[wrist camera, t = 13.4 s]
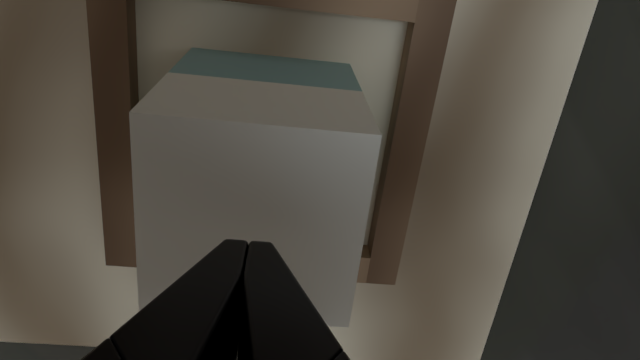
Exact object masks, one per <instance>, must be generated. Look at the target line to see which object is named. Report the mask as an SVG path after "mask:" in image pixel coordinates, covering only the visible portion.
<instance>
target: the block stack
mask: <svg viewBox="0 0 640 360" xmlns="http://www.w3.org/2000/svg"><path fill="white" fill-rule="evenodd" d="M129 122H130V142H131V163H132V183H133V203H134V224H135V244H136V264H137V285H138V305H139V311H140V310H141V309H143V308H144V307H145V306H146V305H147V304H148V303H150V302H151V301H152V300H153V299H154V298H156V297H157V296H158V295H159V294H160V293H162V292H163V291H164V290H165V289H166V288H168V287H169V286H170V285H171V284H172V283H174V282H175V281H176V280H177V279H178V278H179V277H181V276H182V275H183V274H184V273H185V272H187V271H188V270H189V269H190V268H191V267H193V266H194V265H195V264H196V263H197V262H199V261H200V260H201V259H202V258H203V257H204V256H206V255H207V254H208V253H209V252H210V251H212V250H213V249H214V248H215V247H216V246H218V245H219V244H220V243H221V242H222V241H224V240H225V239H237V240H246V241H247V242H248V245H249V243H250V242H251V241H264V242H271V243H273V245H274V246H275V248H276V249H277V251H278V252H279V254H280V255H281V257H282V258H283V260H284V261H285V263H286V264H287V266H288V267H289V269H290V270H291V272H292V273H293V275H294V276H295V278H296V279H297V281H298V282H299V284H300V285H301V287H302V288H303V290H304V291H305V293H306V294H307V296H308V297H309V299H310V300H311V302H312V303H313V305H314V306H315V308H316V309H317V311H318V312H319V314H320V315H321V317H322V318H323V320H324V321H325V323H326V324H327V326H332V327H349V323H350V317H351V312H352V306H353V300H354V294H355V288H356V283H357V277H358V271H359V265H360V260H361V254H362V248H363V242H364V237H365V231H366V225H367V219H368V213H369V208H370V202H371V196H372V190H373V185H374V179H375V173H376V167H377V162H378V156H379V150H380V144H381V138H382V134H381V132H380V130H379V127H378V125H377V123H376V121H375V119H374V116H373V114H372V112H371V110H370V107H369V105H368V103H367V101H366V99H365V96H364V94H363V92H362V90H361V87H360V85H359V83H358V81H357V79H356V76H355V74H354V72H353V70H352V67H351V65H350V64H347V63H338V62H328V61H318V60H309V59H299V58H289V57H280V56H270V55H260V54H251V53H241V52H231V51H222V50H212V49H202V48H191V49H190V50H189V51H188V52H187V53H186V54H185V55H184V56H183V57H182V58H181V59H180V61H179V62H178V63H177V64H176V65H175V66H174V67H173V68H172V69H171V70H170V71H169V72H168V73H167V74H166V75H165V76H164V77H163V78H162V79H161V80H160V81H159V82H158V83H157V84H156V85H155V86H154V87H153V88H152V89H151V90H150V91H149V92H148V93H147V94H146V95H145V96H144V97H143V98H142V99H141V100H140V101H139V103H138V104H137V105H136V106H135V107H134V108H133V109H132V110H131V111H130V112H129Z"/></svg>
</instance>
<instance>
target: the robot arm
mask: <svg viewBox="0 0 640 360" xmlns="http://www.w3.org/2000/svg"><path fill="white" fill-rule="evenodd" d="M237 355H238V360H350V358H349V357H348V355H347V354H346V353H345V352H343V348H342V347H341V345H340V344H339V342H338V341H337V339H336V338H335V336H334V335H333V333H332V332H331V330H330V329H329V327H328V326H327V324H326V323H325V321H324V320H323V318H322V317H321V315H320V314H319V312H318V311H317V309H316V308H315V306H314V305H313V303H312V302H311V300H310V299H309V297H308V296H307V294H306V293H305V291H304V290H303V288H302V287H301V285H300V284H299V282H298V281H297V279H296V278H295V276H294V275H293V273H292V272H291V270H290V269H289V267H288V266H287V264H286V263H285V261H284V260H283V258H282V257H281V255H280V254H279V252H278V251H277V249H276V248H275V246H274V245H273V243H271V242H264V241H251V242H250V243H249V245H248V242H247V241H246V240H237V239H225V240H224V241H222V242H221V243H220V244H219V245H218V246H216V247H215V248H214V249H213V250H212V251H210V252H209V253H208V254H207V255H206V256H204V257H203V258H202V259H201V260H200V261H199V262H197V263H196V264H195V265H194V266H193V267H191V268H190V269H189V270H188V271H187V272H185V273H184V274H183V275H182V276H181V277H179V278H178V279H177V280H176V281H175V282H174V283H172V284H171V285H170V286H169V287H168V288H166V289H165V290H164V291H163V292H162V293H160V294H159V295H158V296H157V297H156V298H154V299H153V300H152V301H151V302H150V303H148V304H147V305H146V306H145V307H144V308H143V309H141V310H140V311H139V312H138V313H137V314H135V315H134V316H133V317H132V318H131V319H129V320H128V321H127V322H126V323H125V324H123V325H122V326H121V327H120V328H119V329H118V330H116V331H115V332H114V333H113V334H112V335H110V337H109V338H107V339H105V340H104V341H103V342H102V343H101V344H99V345H98V346H97V347H96V348H95V349H93V350H92V351H91V352H90V353H89V354H87V355H86V356H85V357H83V358H82V359H81V360H237Z"/></svg>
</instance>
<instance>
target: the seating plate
mask: <svg viewBox="0 0 640 360" xmlns="http://www.w3.org/2000/svg"><path fill="white" fill-rule="evenodd" d="M597 3H598V0H0V342H18V343H37V344H55V345H74V346H92V347H97V346H98V345H99V344H101V343H102V342H103V341H104V340H105V339H107V338H109V337H110V335H112V334H113V333H114V332H115V331H116V330H118V329H119V328H120V327H121V326H122V325H123V324H125V323H126V322H127V321H128V320H129V319H131V318H132V317H133V316H134V315H135V314H137V313H138V312H139V305H138V285H137V264H136V244H135V224H134V203H133V183H132V163H131V142H130V122H129V112H130V111H131V110H132V109H133V108H134V107H135V106H136V105H137V104H138V103H139V101H140V100H141V99H142V98H143V97H144V96H145V95H146V94H147V93H148V92H149V91H150V90H151V89H152V88H153V87H154V86H155V85H156V84H157V83H158V82H159V81H160V80H161V79H162V78H163V77H164V76H165V75H166V74H167V73H168V72H169V71H170V70H171V69H172V68H173V67H174V66H175V65H176V64H177V63H178V62H179V61H180V59H181V58H182V57H183V56H184V55H185V54H186V53H187V52H188V51H189V50H190V49H191V48H202V49H212V50H222V51H231V52H241V53H251V54H260V55H270V56H280V57H289V58H299V59H309V60H318V61H328V62H338V63H347V64H350V65H351V67H352V70H353V72H354V74H355V76H356V79H357V81H358V83H359V85H360V87H361V90H362V92H363V94H364V96H365V99H366V101H367V103H368V105H369V107H370V110H371V112H372V114H373V116H374V119H375V121H376V123H377V125H378V127H379V130H380V132H381V134H382V138H381V144H380V150H379V156H378V162H377V167H376V173H375V179H374V185H373V190H372V196H371V202H370V208H369V213H368V219H367V225H366V231H365V237H364V242H363V248H362V254H361V260H360V265H359V271H358V277H357V283H356V288H355V294H354V300H353V306H352V312H351V317H350V323H349V327H332V326H328V327H329V329H330V330H331V332H332V333H333V335H334V336H335V338H336V339H337V341H338V342H339V344H340V345H341V347H342V348H343V352H345V353H346V354H347V355H348V357H349V358H350V360H480V359H481V356H482V352H483V349H484V346H485V343H486V340H487V337H488V334H489V331H490V328H491V325H492V322H493V319H494V316H495V313H496V310H497V307H498V304H499V301H500V298H501V295H502V292H503V289H504V286H505V283H506V280H507V277H508V273H509V270H510V267H511V264H512V261H513V258H514V255H515V252H516V249H517V246H518V243H519V240H520V237H521V234H522V231H523V228H524V225H525V222H526V219H527V216H528V213H529V210H530V207H531V204H532V201H533V198H534V194H535V191H536V188H537V185H538V182H539V179H540V176H541V173H542V170H543V167H544V164H545V161H546V158H547V155H548V152H549V149H550V146H551V143H552V140H553V137H554V134H555V131H556V128H557V125H558V122H559V119H560V115H561V112H562V109H563V106H564V103H565V100H566V97H567V94H568V91H569V88H570V85H571V82H572V79H573V76H574V73H575V70H576V67H577V64H578V61H579V58H580V55H581V52H582V49H583V46H584V43H585V40H586V36H587V33H588V30H589V27H590V24H591V21H592V18H593V15H594V12H595V9H596V6H597Z"/></svg>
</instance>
